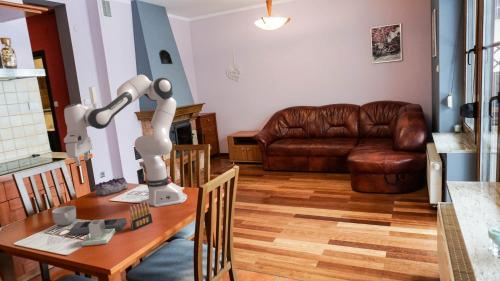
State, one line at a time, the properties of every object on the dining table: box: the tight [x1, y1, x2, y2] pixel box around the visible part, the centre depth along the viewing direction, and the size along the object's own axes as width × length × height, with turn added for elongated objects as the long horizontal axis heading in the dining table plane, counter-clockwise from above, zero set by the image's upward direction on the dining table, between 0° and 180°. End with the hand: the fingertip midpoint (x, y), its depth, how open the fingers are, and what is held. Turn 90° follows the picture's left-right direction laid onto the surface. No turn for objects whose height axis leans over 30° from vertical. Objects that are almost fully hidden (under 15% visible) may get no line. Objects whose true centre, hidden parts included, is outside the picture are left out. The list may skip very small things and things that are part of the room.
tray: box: [80, 229, 116, 247], centre depth 154 cm, size 11×11×2 cm
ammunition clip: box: [129, 200, 153, 231], centre depth 164 cm, size 11×2×12 cm, turn 139°
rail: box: [69, 217, 128, 236], centre depth 165 cm, size 24×8×3 cm, turn 93°
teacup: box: [51, 205, 77, 227], centre depth 173 cm, size 14×11×8 cm
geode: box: [93, 177, 129, 197], centre depth 220 cm, size 20×12×10 cm, turn 135°
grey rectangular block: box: [88, 218, 107, 241], centre depth 154 cm, size 5×5×9 cm
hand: (82, 162), depth 172 cm, fingers open, 8 cm apart
